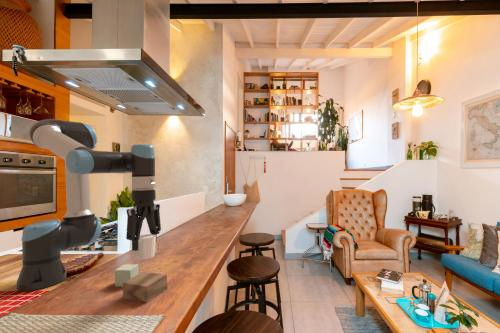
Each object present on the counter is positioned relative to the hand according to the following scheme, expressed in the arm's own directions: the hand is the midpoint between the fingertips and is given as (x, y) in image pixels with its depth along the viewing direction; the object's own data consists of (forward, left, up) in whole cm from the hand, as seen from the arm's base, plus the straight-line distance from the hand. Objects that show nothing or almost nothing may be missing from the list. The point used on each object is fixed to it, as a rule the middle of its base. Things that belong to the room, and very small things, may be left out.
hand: (145, 255), depth 90 cm
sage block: (-13, +5, -13) cm, 19 cm away
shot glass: (0, 0, -1) cm, 1 cm away
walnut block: (0, 0, -13) cm, 13 cm away
